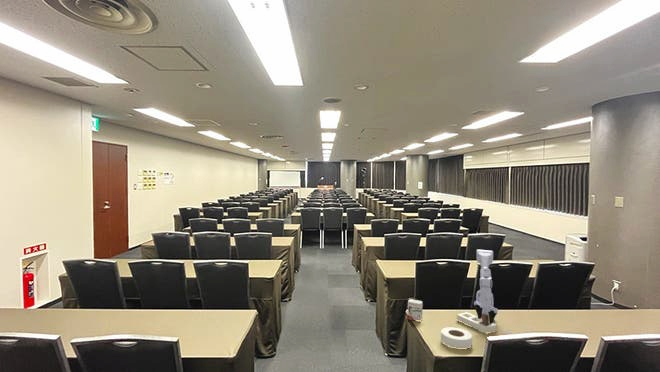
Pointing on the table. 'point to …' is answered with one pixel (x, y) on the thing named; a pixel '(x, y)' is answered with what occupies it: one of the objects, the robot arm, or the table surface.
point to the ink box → (414, 309)
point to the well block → (476, 322)
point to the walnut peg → (485, 319)
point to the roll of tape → (456, 337)
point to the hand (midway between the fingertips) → (485, 320)
